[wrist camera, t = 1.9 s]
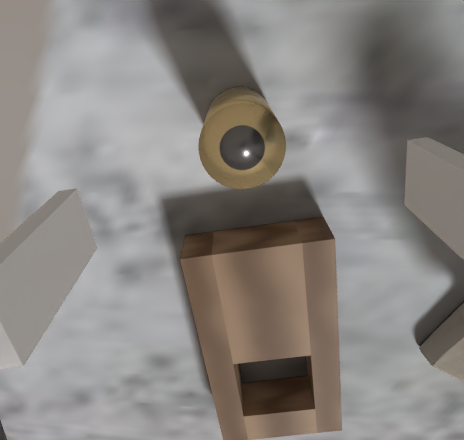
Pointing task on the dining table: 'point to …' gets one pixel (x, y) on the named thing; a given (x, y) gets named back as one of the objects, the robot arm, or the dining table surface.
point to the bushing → (241, 139)
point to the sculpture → (447, 345)
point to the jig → (268, 324)
